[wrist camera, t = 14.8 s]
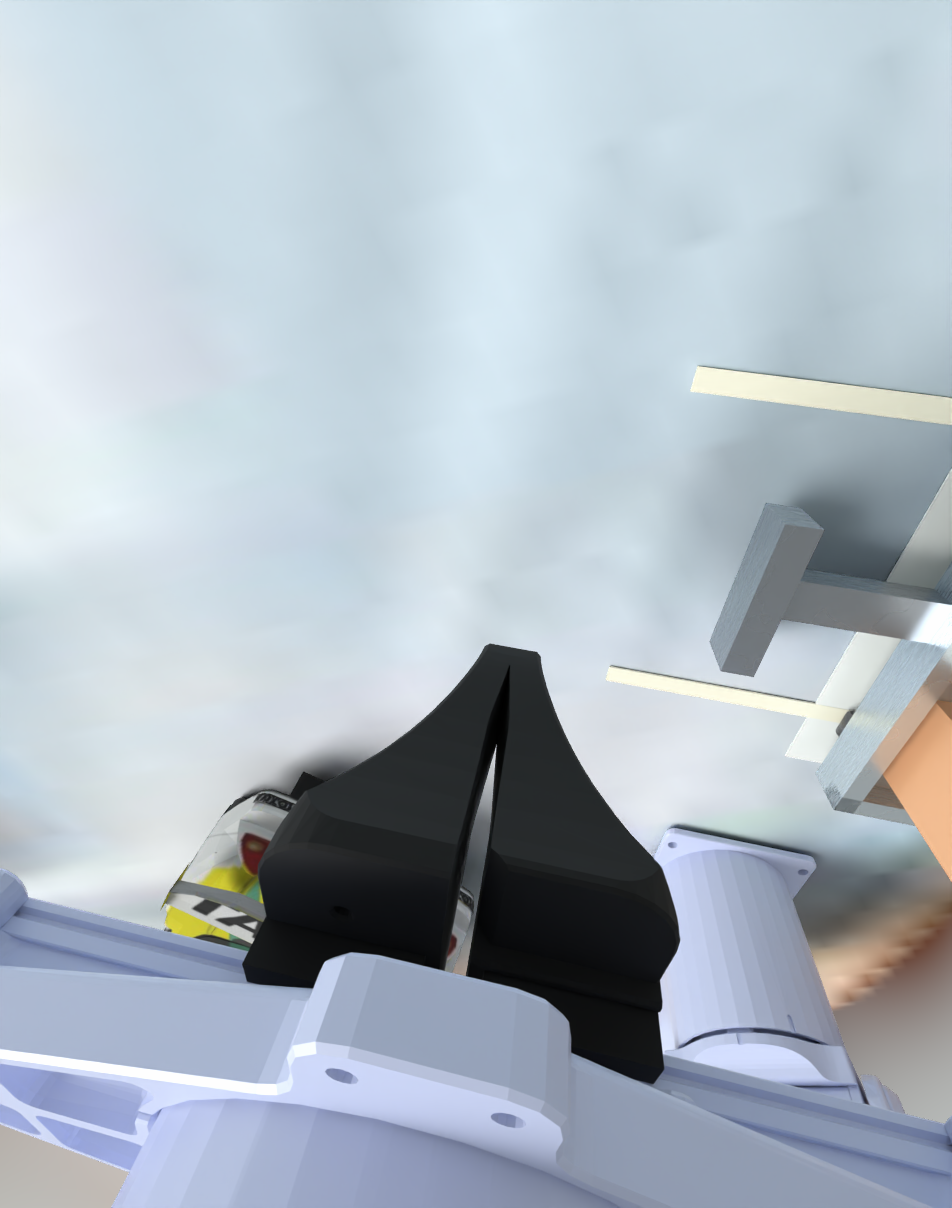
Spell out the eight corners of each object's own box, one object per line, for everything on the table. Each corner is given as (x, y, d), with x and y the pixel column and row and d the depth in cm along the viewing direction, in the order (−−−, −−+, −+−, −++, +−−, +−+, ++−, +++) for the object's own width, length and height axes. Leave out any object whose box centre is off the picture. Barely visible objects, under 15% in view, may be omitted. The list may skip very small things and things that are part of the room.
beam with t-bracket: (961, 783, 24) (1010, 844, 22) (663, 726, 26) (673, 778, 23) (1327, 362, 15) (1495, 377, 12) (828, 307, 16) (879, 309, 13)
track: (975, 791, 25) (976, 793, 24) (593, 718, 26) (593, 720, 26) (1375, 347, 15) (1380, 347, 15) (723, 276, 16) (724, 276, 16)
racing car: (144, 966, 50) (33, 1137, 39) (281, 715, 32) (143, 904, 21) (301, 1037, 52) (236, 1216, 42) (512, 840, 34) (491, 1066, 24)
